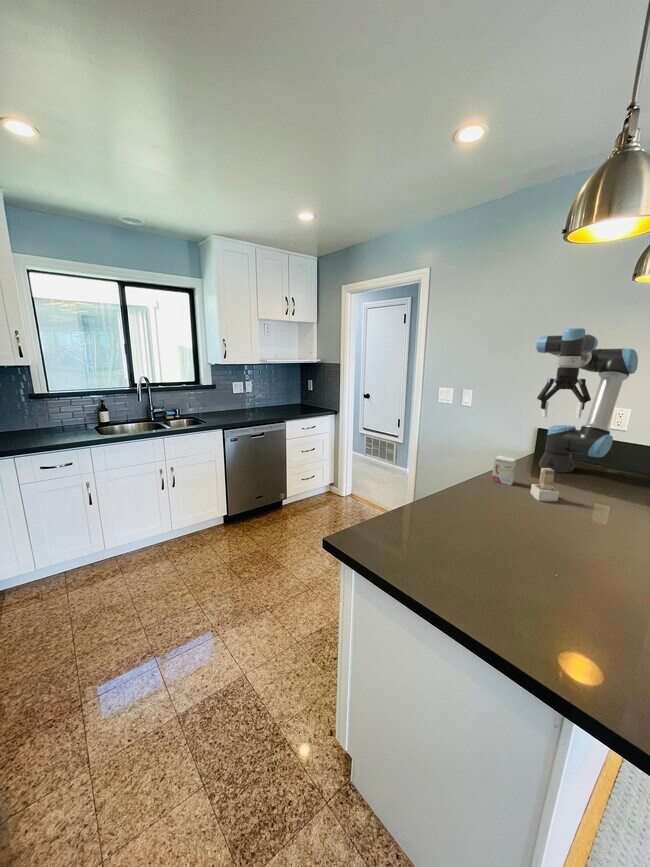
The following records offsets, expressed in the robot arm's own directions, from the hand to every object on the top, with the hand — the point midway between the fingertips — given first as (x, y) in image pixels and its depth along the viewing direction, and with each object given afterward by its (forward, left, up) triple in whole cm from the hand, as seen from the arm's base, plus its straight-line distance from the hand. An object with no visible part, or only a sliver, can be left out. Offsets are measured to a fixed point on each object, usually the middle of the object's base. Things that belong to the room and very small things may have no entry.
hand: (560, 417), depth 151 cm
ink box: (-6, -18, -33) cm, 38 cm away
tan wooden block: (+12, -8, -32) cm, 35 cm away
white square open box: (+12, -8, -33) cm, 36 cm away
